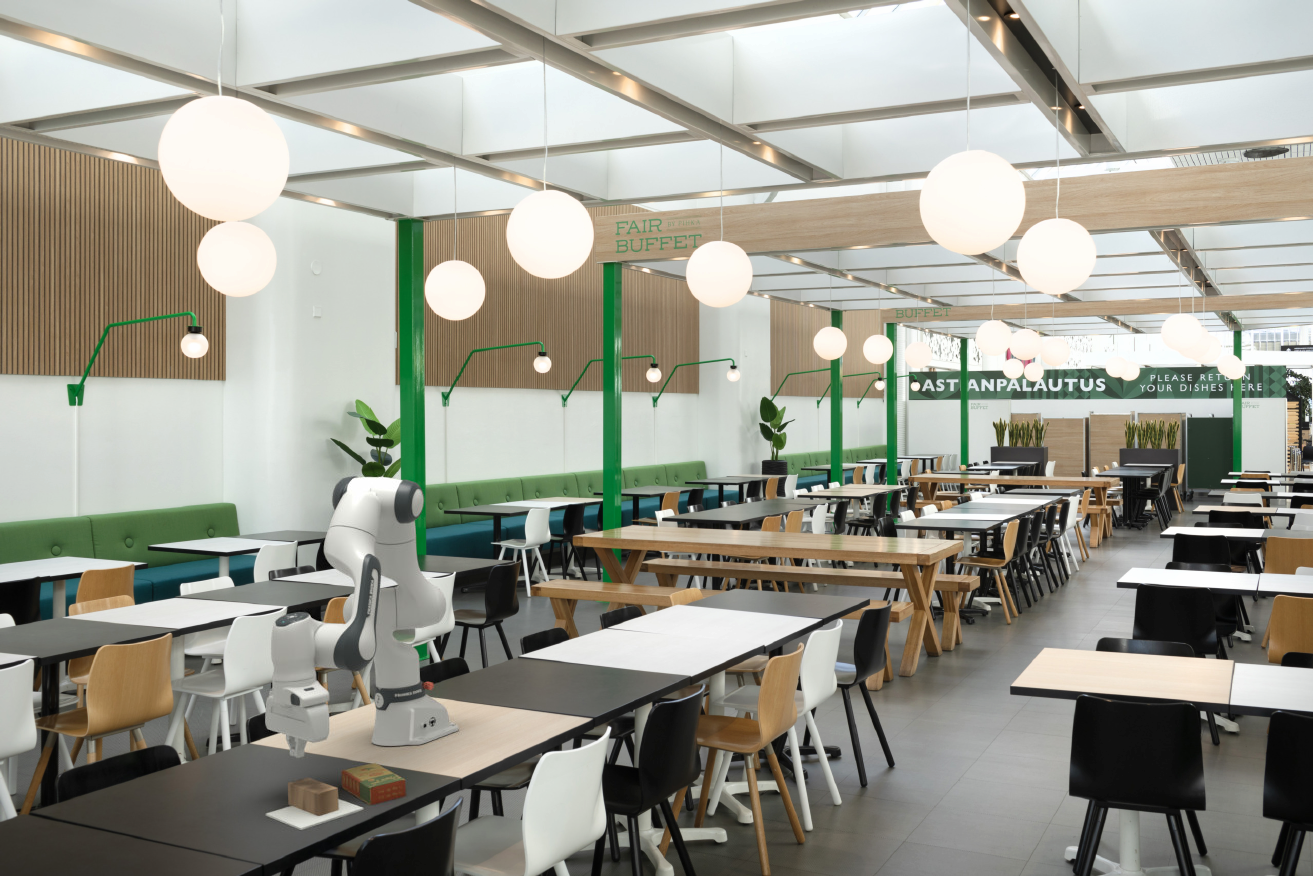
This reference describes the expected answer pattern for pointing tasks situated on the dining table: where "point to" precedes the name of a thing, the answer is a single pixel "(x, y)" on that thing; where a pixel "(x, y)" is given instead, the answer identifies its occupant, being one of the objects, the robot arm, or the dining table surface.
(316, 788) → the block
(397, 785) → the carton
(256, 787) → the dining table surface
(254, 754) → the dining table surface
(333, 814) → the mat
